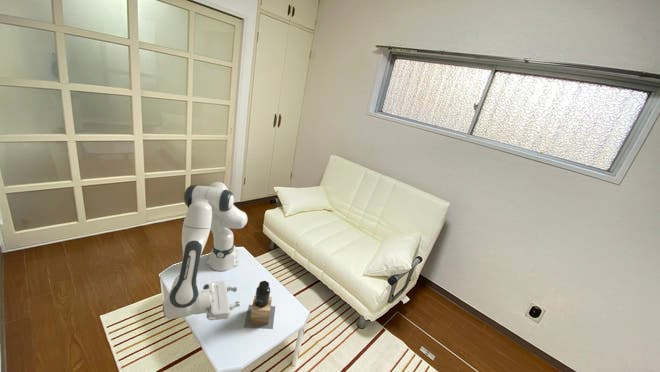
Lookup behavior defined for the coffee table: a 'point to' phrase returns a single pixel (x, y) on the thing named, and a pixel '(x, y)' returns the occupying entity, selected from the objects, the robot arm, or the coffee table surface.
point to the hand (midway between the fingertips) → (238, 296)
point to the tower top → (261, 309)
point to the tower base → (259, 320)
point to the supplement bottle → (262, 294)
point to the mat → (264, 326)
